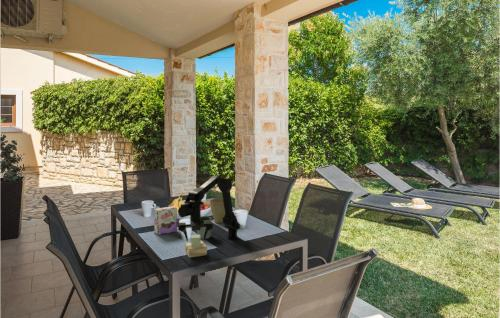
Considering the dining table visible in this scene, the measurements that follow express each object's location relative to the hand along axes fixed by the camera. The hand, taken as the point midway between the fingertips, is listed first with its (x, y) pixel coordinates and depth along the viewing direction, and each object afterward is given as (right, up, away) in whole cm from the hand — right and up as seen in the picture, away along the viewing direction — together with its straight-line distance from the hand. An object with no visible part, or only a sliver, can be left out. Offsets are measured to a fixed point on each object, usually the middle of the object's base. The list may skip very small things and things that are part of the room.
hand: (195, 240), depth 191 cm
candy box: (-25, -3, +36) cm, 44 cm away
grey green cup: (+1, -4, +28) cm, 29 cm away
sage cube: (0, -2, 0) cm, 2 cm away
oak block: (0, -7, +1) cm, 7 cm away
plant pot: (+8, -1, +61) cm, 62 cm away
